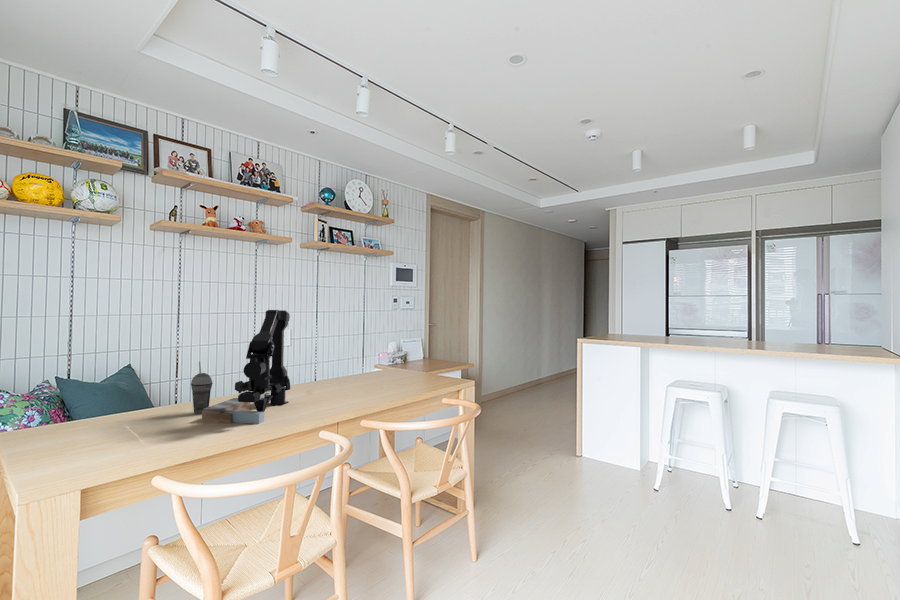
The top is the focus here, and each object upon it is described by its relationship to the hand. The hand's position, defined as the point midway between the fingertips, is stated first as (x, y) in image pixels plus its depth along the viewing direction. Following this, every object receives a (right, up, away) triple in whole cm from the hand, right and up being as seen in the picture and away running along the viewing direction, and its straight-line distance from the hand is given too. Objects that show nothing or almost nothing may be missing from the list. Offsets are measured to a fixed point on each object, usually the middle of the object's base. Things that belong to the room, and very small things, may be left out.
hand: (260, 415), depth 155 cm
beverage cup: (-26, -2, +8) cm, 27 cm away
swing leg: (-5, -1, -2) cm, 6 cm away
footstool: (-13, -2, +5) cm, 14 cm away
